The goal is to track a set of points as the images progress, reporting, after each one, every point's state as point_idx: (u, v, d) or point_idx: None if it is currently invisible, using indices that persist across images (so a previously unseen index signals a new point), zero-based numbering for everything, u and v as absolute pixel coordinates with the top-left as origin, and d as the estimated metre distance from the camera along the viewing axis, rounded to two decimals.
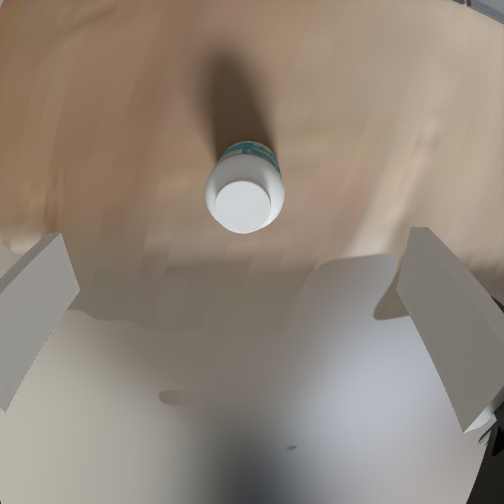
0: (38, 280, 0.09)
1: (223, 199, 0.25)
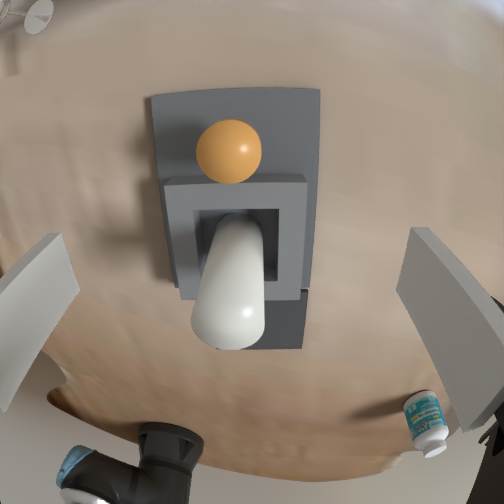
0: (38, 280, 0.09)
1: (429, 456, 0.40)
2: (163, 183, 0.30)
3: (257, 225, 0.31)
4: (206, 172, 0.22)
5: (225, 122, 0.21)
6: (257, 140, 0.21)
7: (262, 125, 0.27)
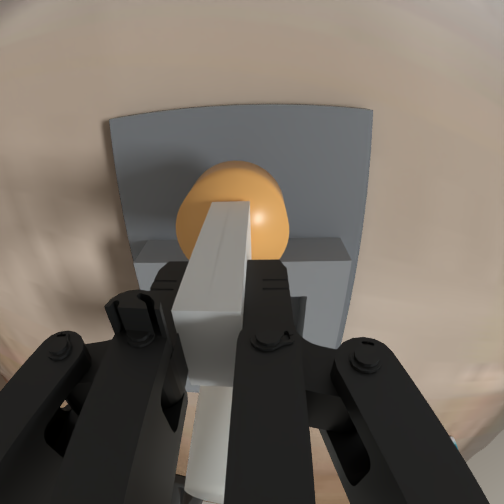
0: None
1: None
2: (136, 248, 0.21)
3: None
4: None
5: (225, 179, 0.12)
6: (283, 211, 0.12)
7: (283, 165, 0.18)
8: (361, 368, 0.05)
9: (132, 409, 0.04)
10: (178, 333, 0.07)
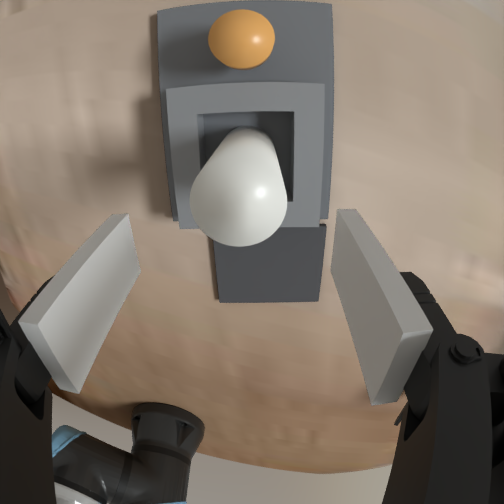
0: (110, 257, 0.10)
1: None
2: (165, 96, 0.25)
3: (269, 137, 0.26)
4: (218, 56, 0.19)
5: (238, 10, 0.17)
6: (270, 26, 0.17)
7: None
8: None
9: None
10: (30, 341, 0.06)
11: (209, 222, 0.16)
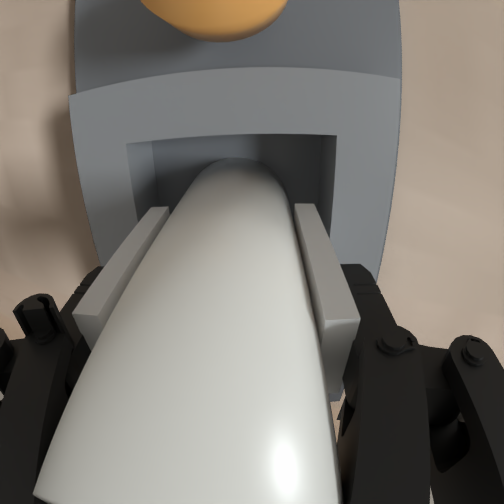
0: None
1: None
2: None
3: (279, 184, 0.13)
4: (153, 5, 0.06)
5: None
6: None
7: None
8: (471, 361, 0.05)
9: (38, 395, 0.04)
10: (83, 334, 0.06)
11: None
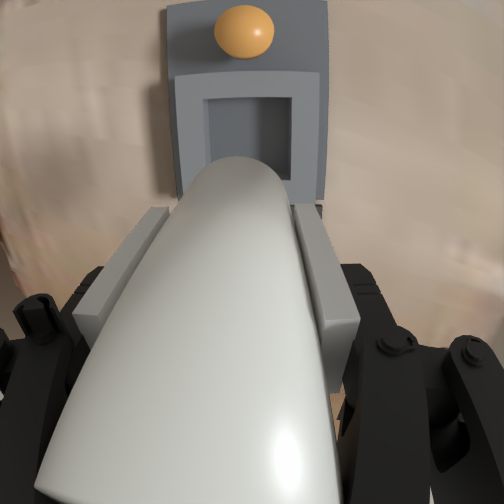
0: None
1: None
2: (173, 84, 0.27)
3: (278, 182, 0.13)
4: (222, 46, 0.20)
5: (241, 6, 0.19)
6: (270, 20, 0.19)
7: None
8: (471, 361, 0.05)
9: (38, 395, 0.04)
10: (83, 334, 0.06)
11: None
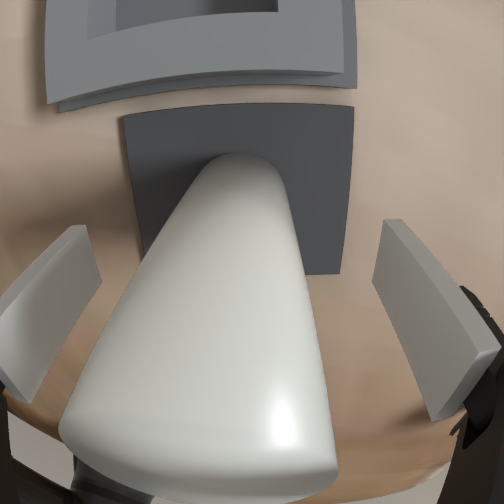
0: (64, 270, 0.09)
1: None
2: None
3: (277, 176, 0.15)
4: None
5: None
6: None
7: None
8: None
9: None
10: None
11: (132, 482, 0.05)
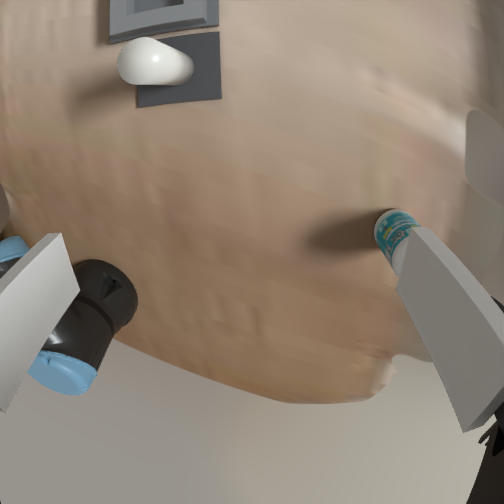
0: (38, 280, 0.09)
1: None
2: None
3: (188, 56, 0.34)
4: None
5: None
6: None
7: None
8: None
9: None
10: None
11: (125, 73, 0.24)
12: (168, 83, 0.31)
